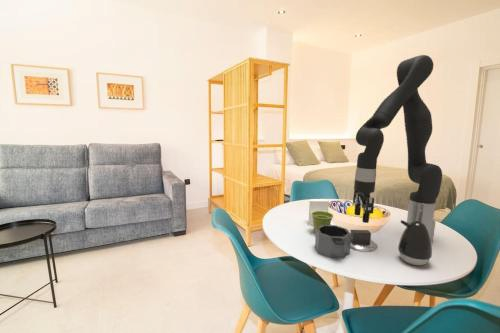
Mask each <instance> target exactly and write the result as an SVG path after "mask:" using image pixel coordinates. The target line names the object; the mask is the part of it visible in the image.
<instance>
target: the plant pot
mask: <svg viewBox="0 0 500 333" xmlns="http://www.w3.org/2000/svg"><path fill="white" fill-rule="evenodd" d="M312 216H313V222H314V226H313V231H314V233H315V234H316V228H318V227H320V226H322V225H324V224H329V225H331V222H332V219H333V218H334V215H333V214H332V213H331V212H329V211H328V212H324V211H315V212H312Z"/></svg>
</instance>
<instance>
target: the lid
mask: <svg viewBox="0 0 500 333" xmlns="http://www.w3.org/2000/svg"><path fill="white" fill-rule="evenodd" d="M350 233H351V245H350V250H353V251H356V252H361V253H372V252H376V251H377V250H376V249H378V244H377V243H376V242H375V241H374V240H372V239H371V238H372V233H371V232H370V230H368V229H350Z"/></svg>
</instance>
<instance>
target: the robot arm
mask: <svg viewBox="0 0 500 333" xmlns="http://www.w3.org/2000/svg"><path fill="white" fill-rule="evenodd" d="M433 71H434V61H433V59H432V57H430V56H429V55H426V54H421V55H418V56H414V57H411V58H407V59H404V60H403V61H400V63H399V64H398V65H397V69H396V79H397V84H398V86H397V88H395V89H394V90H393V91H392V92H391V93H389V95H388V96H387V97H386V98H384V99H383V100H382V101H381V103H380V104H379V106H378V107H377V108H376V109H375V112H374V113H373V114H372V116H371V117H370V118H369V119H367V120H366V121H365V123H363V124H362V126H361V127H359V128H358V130H357V132H356V135H355V141H356V143H357V144H358V145H360V146H362V147H365V148H364V151H363V152H360V153H359V154H358V156H357V160H356V170H355V174H354V183H353V184H354V185H353V197H352V204H353V205H354V215H355V216H361V210H362V212H363V213H362V222H363V223H366V224H367V223H369V222H370V215H371V214H373V213H374V205H375V198H374V197H371V194H372V193H374V192H375V190H376V189H375V188H376V178H377V166H378V164H377V163H378V157H379V155H380V154H381V153H380V152H381V150H382V148H383V145H384V140H385V135H384V133H383V131H382V129H386V128H387V127H389V126H390V125H391V124H392V122H393V120H394V119H395V117H396V116H397V114H398V113H399V111H400V110H401V109H402V108H403V109H402V110H403V119H404V128H405V129H404V130H405V134H406V147H407V174H408V178H409V179H410V181H411V182H413V183H415V184H418V188H417V190H416V191H412V192H410V194H409V200H408V209H407V217H406V218H407V219H406V222H407V223H409V224H410V223H411V222H413V221H419V222H422V223H423V224H424V225H425V226H426V227H427V229H428V232H429V235H430V238H431V244H432V243H433V242H434V236H435V228H436V220H435V219H434V217H435V211H436V210H435V208H436V203H437V202H436V201H437V199H438V197H439V195H440V192H441V187H442V183H443V182H442V180H443V171H442V169H441V167H440V166H439V165H437V164H433V163H430V162H427V159H426V147H427V144H428V143H429V140H430V139H431V136H432V134H433V119H432V112H431V111H430V108H428V106H427V105H426V103H425V102H424V100H423V99H422V97H421V96H420V92H419V90H418V89H419V88H420V87H421V86H422V85H423V83H425V81H426V80H427V79H428V78H429V77H430V76H431V74H432V72H433Z"/></svg>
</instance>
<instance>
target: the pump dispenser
mask: <svg viewBox="0 0 500 333" xmlns="http://www.w3.org/2000/svg"><path fill="white" fill-rule="evenodd" d="M400 223H401V224H402V225H404V226H405V229H404V231H403V232H402V234H401V236H400V239H399V243H398V247H397V250H398V252H399V255H400V257H401V259H402V260H403V261H404V262H406V263H408V264H409V265H412V266H424V265H426V264H428V263H429V261H430V259H431V258H432V255H433V247H432V246H433V245H432V243H431V238H430V235H429V232H428V229H427V227H426V226H425V225H424V224H423V223H422V222H419V221H413V222H411V223H410V224H409V223H407V221H405V220H403V219H402V220H400Z"/></svg>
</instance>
